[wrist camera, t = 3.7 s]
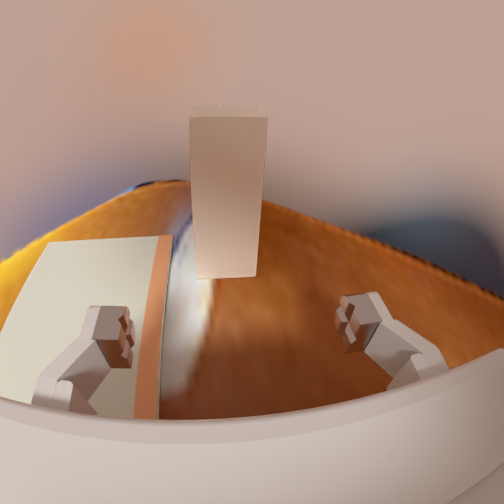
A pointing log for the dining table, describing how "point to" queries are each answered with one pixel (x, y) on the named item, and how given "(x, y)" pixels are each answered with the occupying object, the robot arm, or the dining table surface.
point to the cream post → (226, 188)
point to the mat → (74, 312)
